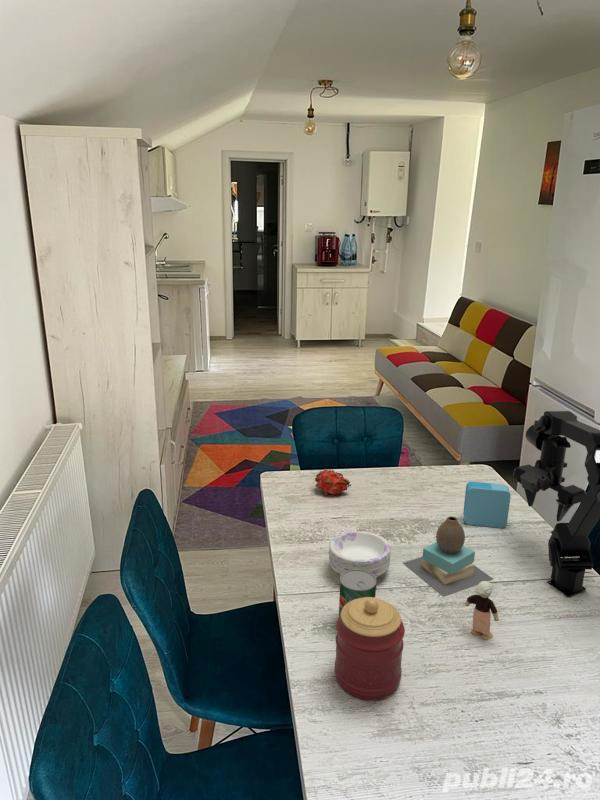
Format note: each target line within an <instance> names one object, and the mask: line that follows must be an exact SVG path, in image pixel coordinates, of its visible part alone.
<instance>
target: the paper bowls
mask: <svg viewBox="0 0 600 800" xmlns="http://www.w3.org/2000/svg"><path fill="white" fill-rule="evenodd" d="M328 545H329V546H328V547H329V549H328V563H329V565H330V567H331V568H332V570H334V572H336V573H338V574H339V575H340V576H341V575H342V574H343V573H344V572H346V571H348V570H353V569H359V570H365V571H368V572H370V573H371V574H373V575H374V576H375V578H376V579H378V577H379V576H382V575H383V574H385V573H386V572H387V571H388V569H389V568H390V564H391V551H392V550H391V545H390V543H389V542H388V541H387V540H386V539H385V538H384V537H382V536H381V535H379V534H377V533H373V532H369V531H362V530H361V531H359V530H357V531H355V530H354V531H346V532H343V533H340V534H338V535H336V536H334V537H333V538H332V539H331V540H330V542H329V544H328Z"/></svg>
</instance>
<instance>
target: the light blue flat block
mask: <svg viewBox="0 0 600 800" xmlns="http://www.w3.org/2000/svg"><path fill="white" fill-rule="evenodd" d="M464 494H465V495H464V503H463V504H464V505H463V512H462V515H463V520H464V523H465V524H466V525H468V526H476V527H477V526H478V527H486V528H494V529H495V528H496V529H503V528H506V526H507V524H508V521H509V520H508V519H509V511H510V502H511V492H510V487H509V486H508V485H506V484H504V483H503V484H501V483H492V482H480V481H469V482H467V483H466V486H465V493H464Z"/></svg>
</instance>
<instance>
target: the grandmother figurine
mask: <svg viewBox="0 0 600 800" xmlns="http://www.w3.org/2000/svg"><path fill="white" fill-rule="evenodd" d="M474 590H475V592H476V594H473V595H470V596H468V597H467V598H466V600H465V602H464V606H465V607H469V606H470V605H471V604H472V605H475V606H474V610H473V615H472V629H471V631H470V633H471V634H472V635H474V636H479V635H480V634H481V635H480V638H481V639H483V640H485V641H486V640H490V639H492V638H493V636H494V635H493V633H492V632H491V619H492V618H491V614H492V616H493V620H494V621H495V622H499V619H500V618H499V613H498V609H497V607H496V605H495V603H494V601H493V600H492V599H490V598H489V597H490V596H491V594H492V592H493V585H492V584H491V582H490V581H482V582H480V583H479V584H478V585H476V588H475V589H474Z"/></svg>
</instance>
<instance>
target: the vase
mask: <svg viewBox="0 0 600 800" xmlns="http://www.w3.org/2000/svg"><path fill="white" fill-rule="evenodd" d="M435 535H436V537H435V540H436V541H435V542H437V545H438V547H439V548H440V549H441V550H442V551H443V552H445V553H447V554H455V553H457V552H459V551H460V550H461V549H462V547H463V546H465V540H466V534H465V531H464V528H463V526H462V524H461V523H460V522H459V520H458V518H457V517H456V516H452V515H451V516H448V517H446V519H445V520H444V521H443V522H442V523H441V524H440V525H439V526H438V528H437V531H436V534H435Z"/></svg>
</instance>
